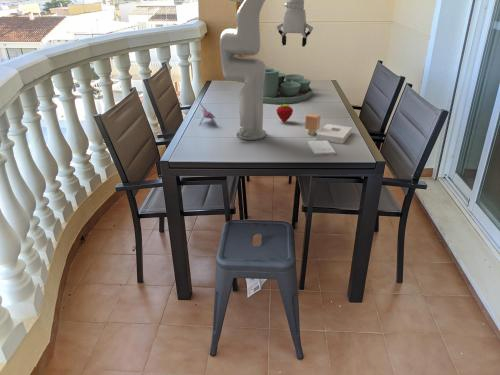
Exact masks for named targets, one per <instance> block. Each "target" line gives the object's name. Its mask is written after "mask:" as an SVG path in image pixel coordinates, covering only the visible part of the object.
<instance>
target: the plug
mask: <svg viewBox="0 0 500 375" xmlns="http://www.w3.org/2000/svg"><path fill="white" fill-rule="evenodd" d="M304 125H305V126H304V128H305V129H306V130H308V135H311V136H314V135H315V134H317V133H316V131H317V130H318V129H320V125H321V114H316V113H308V114H307V115H305V124H304Z"/></svg>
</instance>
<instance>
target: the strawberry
mask: <svg viewBox="0 0 500 375" xmlns="http://www.w3.org/2000/svg"><path fill="white" fill-rule="evenodd" d="M293 112H294V110H293V108H292V106H291V104H289V103H285V104H284V103H283V104H280V105H279V106H278V107H277V108H276V114H277V116H278V117H279V119H280V120H281V121H282V123H286V122H287V121H288V120H289V119H290V118H291V117H292V115H293Z"/></svg>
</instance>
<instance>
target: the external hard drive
mask: <svg viewBox="0 0 500 375" xmlns="http://www.w3.org/2000/svg"><path fill="white" fill-rule="evenodd" d="M307 144H308V146H309V148H310V150H311V151H312V153H313V154H314V156H335V155H337V152H336V151H335V149H334V147H333V146H332V144H331V142H328V141H327V140H326V141H322V140H309V141H307Z"/></svg>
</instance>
